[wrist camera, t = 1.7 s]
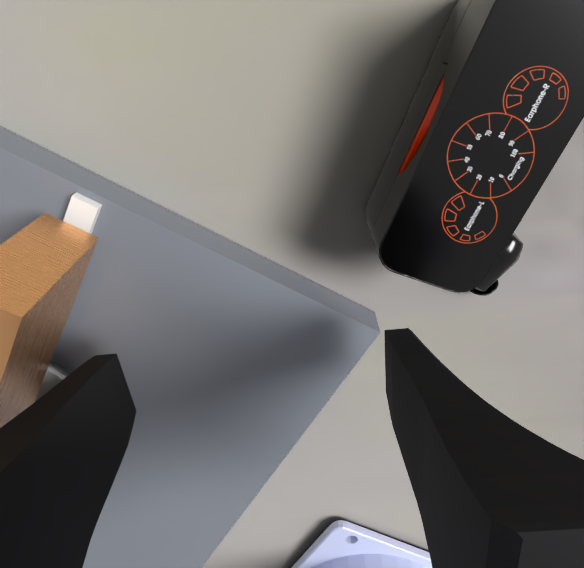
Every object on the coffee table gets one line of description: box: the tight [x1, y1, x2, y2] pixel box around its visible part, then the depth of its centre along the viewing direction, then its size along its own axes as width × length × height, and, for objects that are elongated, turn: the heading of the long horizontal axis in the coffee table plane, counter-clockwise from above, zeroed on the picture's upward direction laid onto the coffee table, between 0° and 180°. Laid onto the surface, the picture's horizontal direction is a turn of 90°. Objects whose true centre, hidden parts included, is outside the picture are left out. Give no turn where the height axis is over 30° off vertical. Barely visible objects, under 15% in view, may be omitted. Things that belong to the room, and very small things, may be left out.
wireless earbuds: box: [365, 0, 584, 296], centre depth 12 cm, size 5×7×3 cm, turn 161°
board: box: [0, 126, 380, 568], centre depth 16 cm, size 18×16×2 cm
